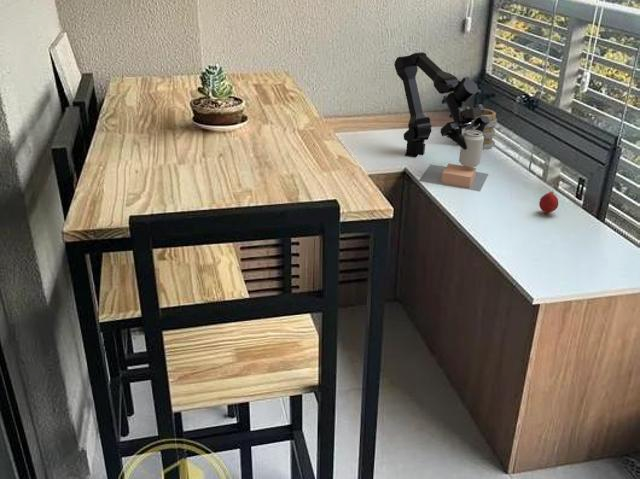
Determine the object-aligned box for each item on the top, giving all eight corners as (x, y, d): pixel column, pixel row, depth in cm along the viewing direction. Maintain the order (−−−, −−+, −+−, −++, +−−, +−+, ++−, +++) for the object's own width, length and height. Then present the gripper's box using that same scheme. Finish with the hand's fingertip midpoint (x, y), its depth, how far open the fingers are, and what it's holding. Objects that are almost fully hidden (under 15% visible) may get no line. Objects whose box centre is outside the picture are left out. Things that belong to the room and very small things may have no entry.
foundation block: (441, 183, 229) (442, 172, 227) (447, 173, 237) (448, 163, 235) (469, 187, 226) (470, 177, 224) (474, 178, 234) (476, 167, 232)
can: (473, 169, 226) (478, 137, 221) (454, 164, 230) (459, 132, 225) (483, 163, 231) (488, 131, 226) (464, 158, 236) (469, 127, 230)
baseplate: (418, 183, 231) (418, 180, 230) (430, 166, 246) (430, 164, 245) (479, 194, 224) (480, 191, 223) (488, 176, 238) (488, 173, 238)
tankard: (484, 138, 277) (489, 104, 270) (498, 148, 266) (504, 113, 259) (441, 141, 273) (445, 106, 266) (454, 151, 262) (458, 115, 255)
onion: (546, 218, 207) (551, 195, 204) (533, 211, 212) (538, 189, 208) (559, 215, 210) (564, 192, 206) (546, 208, 214) (551, 186, 210)
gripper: (449, 100, 218) (467, 141, 215) (490, 93, 227) (508, 133, 224) (432, 116, 228) (449, 155, 225) (472, 109, 237) (488, 147, 234)
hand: (474, 147), depth 227 cm, fingers closed on can, 7 cm apart
